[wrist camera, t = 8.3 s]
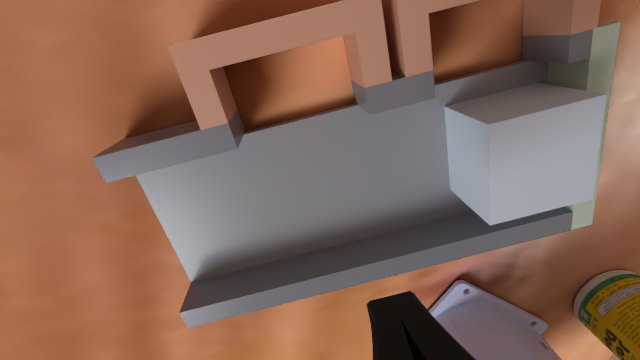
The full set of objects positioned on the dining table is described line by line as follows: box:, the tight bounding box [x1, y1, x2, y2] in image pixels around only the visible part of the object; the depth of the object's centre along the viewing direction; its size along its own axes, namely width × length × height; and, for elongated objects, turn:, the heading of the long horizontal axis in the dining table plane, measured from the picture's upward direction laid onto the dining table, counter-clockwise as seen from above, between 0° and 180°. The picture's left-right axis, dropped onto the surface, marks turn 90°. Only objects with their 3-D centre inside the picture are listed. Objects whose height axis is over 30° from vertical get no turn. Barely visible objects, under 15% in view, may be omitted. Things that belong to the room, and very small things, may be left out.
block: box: [444, 83, 607, 225], centre depth 16 cm, size 5×5×4 cm
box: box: [92, 0, 621, 328], centre depth 16 cm, size 23×14×3 cm, turn 103°
